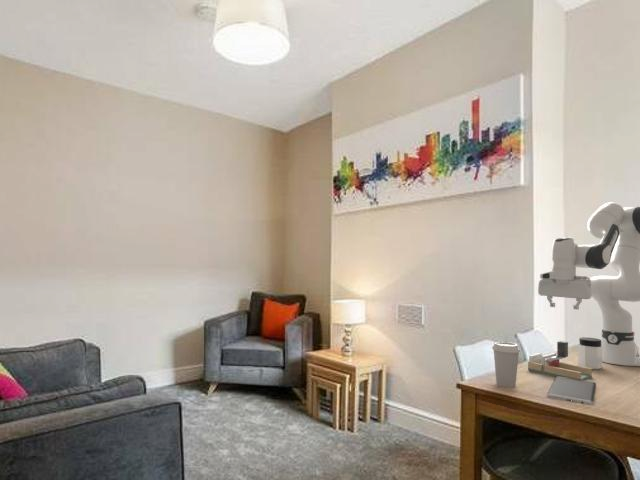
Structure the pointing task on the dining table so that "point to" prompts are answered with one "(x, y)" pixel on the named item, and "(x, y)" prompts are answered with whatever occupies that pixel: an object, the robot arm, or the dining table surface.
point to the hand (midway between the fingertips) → (564, 308)
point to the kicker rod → (559, 354)
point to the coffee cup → (506, 363)
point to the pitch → (564, 369)
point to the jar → (590, 353)
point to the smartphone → (572, 390)
